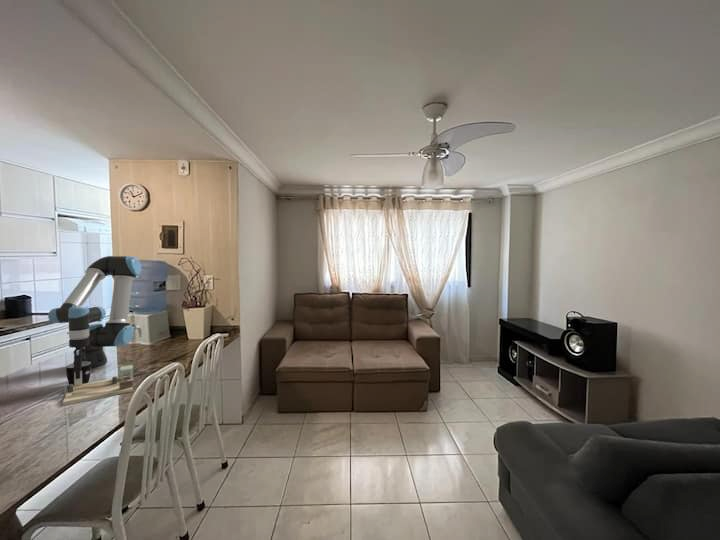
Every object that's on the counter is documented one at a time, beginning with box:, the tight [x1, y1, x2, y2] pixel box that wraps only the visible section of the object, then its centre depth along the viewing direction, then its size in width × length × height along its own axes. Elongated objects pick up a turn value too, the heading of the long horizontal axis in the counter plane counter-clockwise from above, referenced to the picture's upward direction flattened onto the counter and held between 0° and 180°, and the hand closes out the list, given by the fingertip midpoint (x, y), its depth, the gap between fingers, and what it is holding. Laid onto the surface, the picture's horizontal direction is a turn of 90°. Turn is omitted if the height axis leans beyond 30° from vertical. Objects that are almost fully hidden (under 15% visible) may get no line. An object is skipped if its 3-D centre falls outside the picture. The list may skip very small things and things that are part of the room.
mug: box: [65, 362, 92, 386], centre depth 154 cm, size 12×9×10 cm
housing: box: [119, 364, 134, 381], centre depth 158 cm, size 6×5×5 cm
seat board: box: [62, 375, 134, 406], centre depth 147 cm, size 20×24×4 cm
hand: (80, 380), depth 154 cm, fingers open, 13 cm apart
